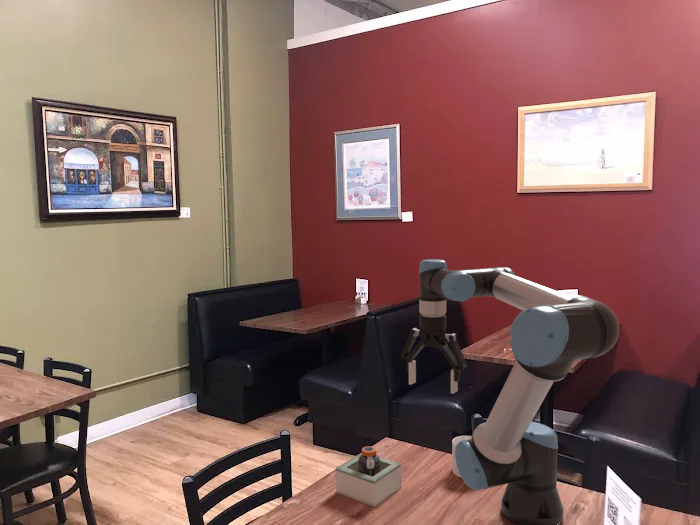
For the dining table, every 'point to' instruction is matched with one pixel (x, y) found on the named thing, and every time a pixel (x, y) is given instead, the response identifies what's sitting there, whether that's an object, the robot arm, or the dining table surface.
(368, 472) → the pill bottle
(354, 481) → the box
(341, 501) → the dining table surface
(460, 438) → the mug
